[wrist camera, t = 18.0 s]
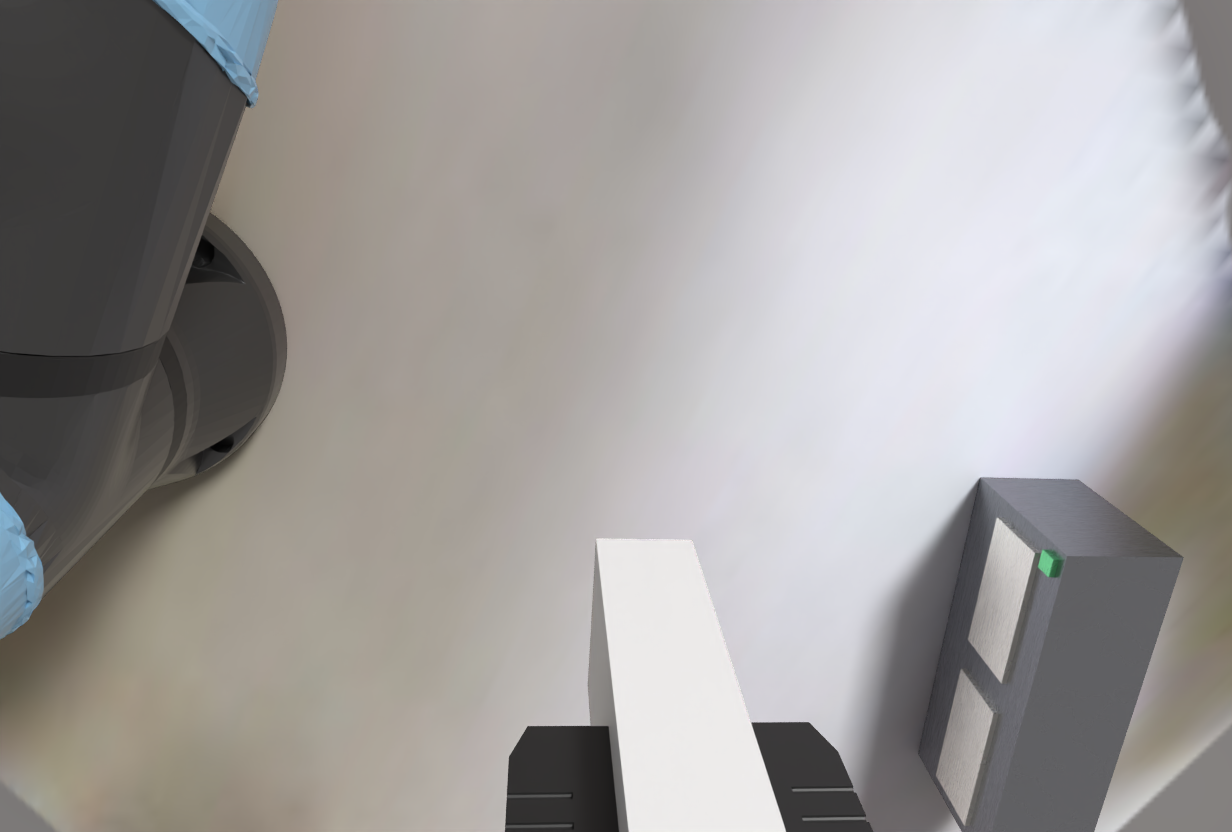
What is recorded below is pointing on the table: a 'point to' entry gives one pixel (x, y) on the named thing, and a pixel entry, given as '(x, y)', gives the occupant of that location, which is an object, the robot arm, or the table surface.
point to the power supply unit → (1043, 656)
